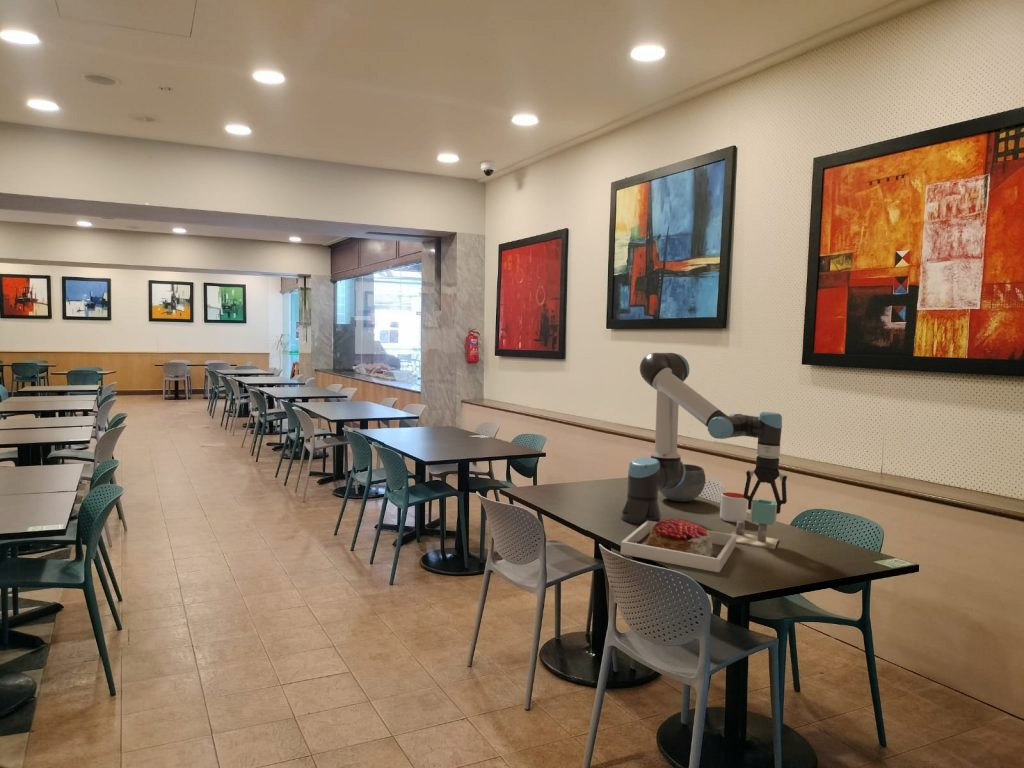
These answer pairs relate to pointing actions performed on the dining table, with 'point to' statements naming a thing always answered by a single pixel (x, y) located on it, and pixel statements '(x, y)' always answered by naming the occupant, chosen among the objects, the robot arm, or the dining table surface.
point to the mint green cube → (763, 511)
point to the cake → (680, 537)
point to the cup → (733, 507)
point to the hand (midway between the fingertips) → (763, 520)
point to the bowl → (687, 485)
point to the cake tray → (677, 556)
